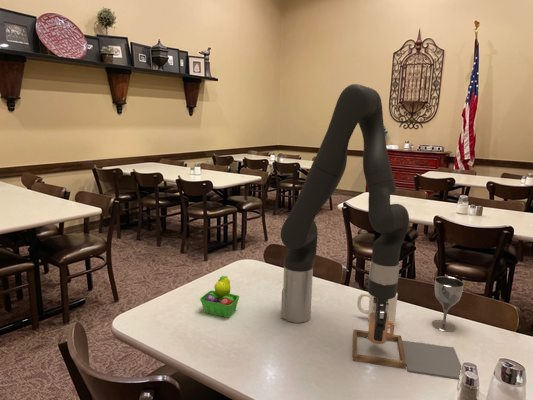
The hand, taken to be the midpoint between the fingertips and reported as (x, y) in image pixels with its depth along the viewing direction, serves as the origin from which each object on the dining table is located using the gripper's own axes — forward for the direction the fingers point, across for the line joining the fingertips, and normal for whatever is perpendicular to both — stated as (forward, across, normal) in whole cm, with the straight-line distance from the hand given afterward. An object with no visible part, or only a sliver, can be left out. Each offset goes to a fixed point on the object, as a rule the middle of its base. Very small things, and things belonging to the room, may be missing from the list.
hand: (377, 334), depth 108 cm
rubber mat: (+5, +1, +14) cm, 15 cm away
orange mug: (+1, 0, 0) cm, 1 cm away
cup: (+5, -17, 0) cm, 18 cm away
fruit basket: (+6, -10, -50) cm, 51 cm away
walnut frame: (+5, 0, 0) cm, 5 cm away
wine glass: (+5, -19, +21) cm, 29 cm away
